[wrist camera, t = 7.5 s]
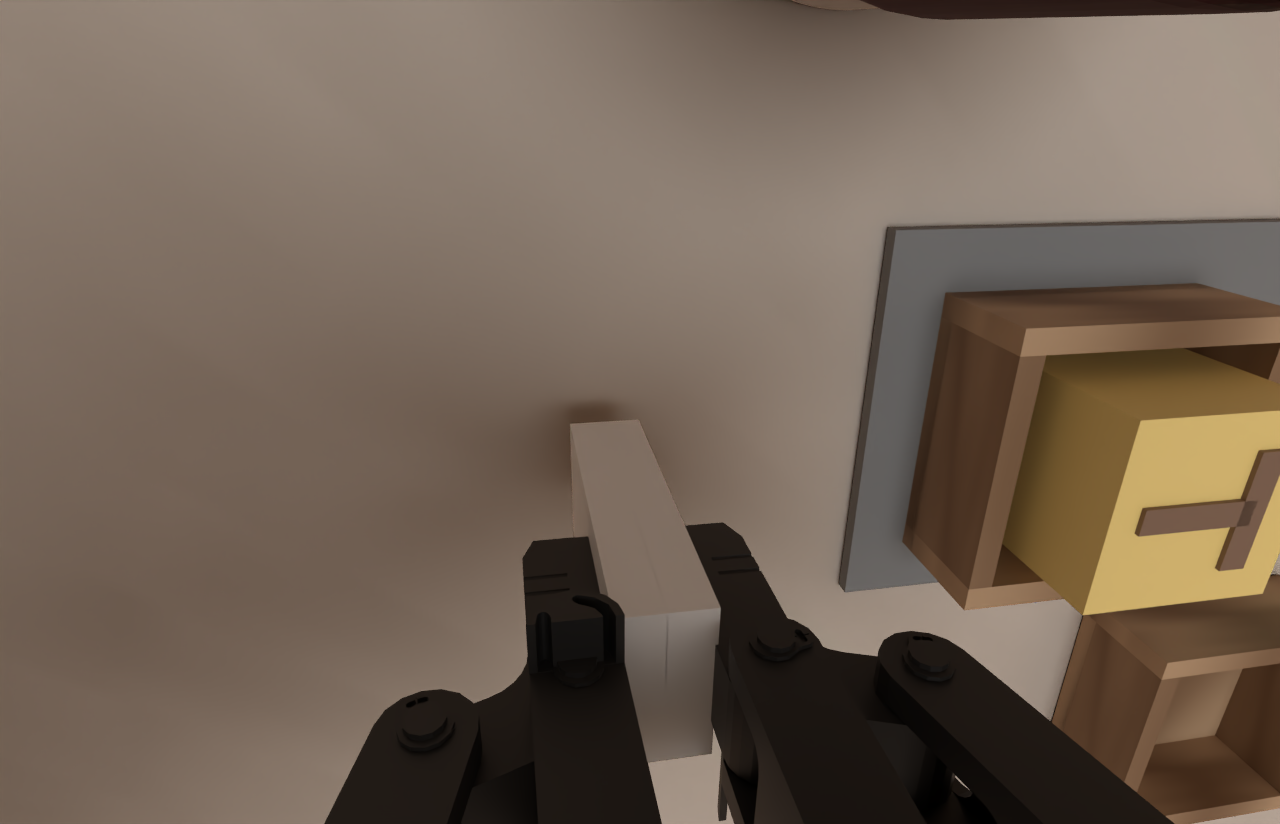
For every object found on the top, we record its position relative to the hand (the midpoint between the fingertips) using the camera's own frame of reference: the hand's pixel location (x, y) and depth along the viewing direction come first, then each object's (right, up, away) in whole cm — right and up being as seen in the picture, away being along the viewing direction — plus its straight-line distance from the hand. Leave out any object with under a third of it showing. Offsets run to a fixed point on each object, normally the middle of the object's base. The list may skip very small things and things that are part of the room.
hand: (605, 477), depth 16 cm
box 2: (+18, -7, +9) cm, 21 cm away
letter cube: (+12, +1, +3) cm, 12 cm away
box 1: (+11, +1, +3) cm, 12 cm away
